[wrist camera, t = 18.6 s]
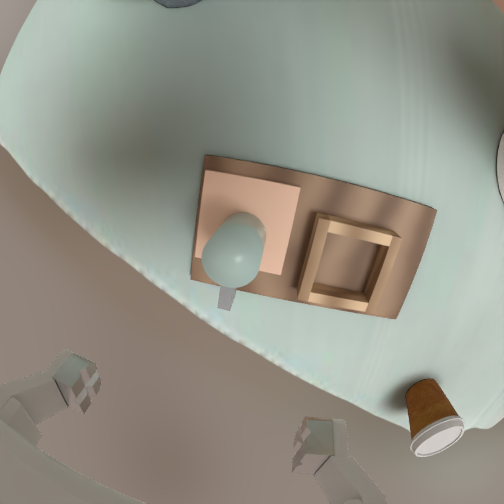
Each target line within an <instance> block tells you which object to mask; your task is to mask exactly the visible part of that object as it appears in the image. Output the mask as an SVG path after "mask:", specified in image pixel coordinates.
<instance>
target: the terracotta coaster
mask: <svg viewBox="0 0 504 504" xmlns="http://www.w3.org/2000/svg"><path fill="white" fill-rule="evenodd" d="M299 193H300V187H299V186H295V185H290V184H285V183H280V182H275V181H270V180H265V179H260V178H255V177H249V176H244V175H238V174H232V173H226V172H220V171H214V170H208V169H207V170H205V176H204V183H203V191H202V198H201V206H200V214H199V223H198V232H197V241H196V250H195V257H197V258H201V257H202V251H203V248H204V246H205V245H206V243H207V242H208V241H209V239H210V238H211V237H212V236H213V234H214V233H215V232H216V231H217V229H218V228H219V227H220V226H221V224H222V223H223V222H224V221H225V220H226V219H227V218H228V217H229V216H230V215H232V214H235V213H238V212H246V213H250V214H253V215H254V216H256V217H257V218H259V219H260V220H261V222H262V223H263V225H264V227H265V230H266V241H265V246H264V250H263V255H262V259H261V264H260V268H259V271H263V272H268V273H273V274H278V275H281V272H282V268H283V264H284V259H285V255H286V251H287V247H288V242H289V238H290V234H291V229H292V225H293V220H294V216H295V211H296V207H297V202H298V198H299Z"/></svg>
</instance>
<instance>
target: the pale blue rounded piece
mask: <svg viewBox="0 0 504 504" xmlns="http://www.w3.org/2000/svg"><path fill="white" fill-rule="evenodd" d="M265 241H266V230H265V227H264V225H263V223H262V222H261V220H260V219H259V218H257V217H256V216H254V215H253V214H250V213H246V212H238V213H235V214H232V215H230V216H229V217H228V218H227V219H226V220H225V221H224V222H223V223H222V224H221V226H220V227H219V228H218V229H217V231H216V232H215V233H214V234H213V236H212V237H211V238H210V239H209V241H208V242H207V243H206V245H205V246H204V248H203V251H202V257H201V259H202V266H203V268H204V271H205V272H206V274H207V275H208V277H209V278H210V279H211V280H212V281H214V282H215V283H217V284H219V285H221V288H220V295H219V301H218V308H220V309H224V310H228V311H230V309H231V306H232V303H233V300H234V297H235V294H236V289H237V288H238V287H242V286H245V285H247V284H248V283H250V282H251V281H252V280H253V279H254V278H255V277H256V275H257V273H258V271H259V268H260V264H261V259H262V255H263V250H264V246H265Z"/></svg>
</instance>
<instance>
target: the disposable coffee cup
mask: <svg viewBox="0 0 504 504" xmlns="http://www.w3.org/2000/svg"><path fill="white" fill-rule="evenodd" d="M406 403H407V409H408V416H409V423H410V431H411V438H412V441H411V446H410V449H411V451H413V452H414V453H415V455H416V456H418V457H426V456H430V455H433V454H437V453H439V452H441V451H443V450H445V449H447V448H448V447H450V446H451V445H453V444H454V443H455V442H456V441H457V440H458V439H459V438H460V437H461V436H462V434H463V432H464V424H465V423H464V420H463V419H462V418H461V417H460V416H458V414H457V413H456V411H455V409H454V408H453V406H452V405H451V403H450V402H449V400H448V399H447V397H446V395H445V394H444V392H443V391H442V389H441V388H440V386H439V385H438V383H437V382H436V381H435V380H434V379H425V380H422V381H420V382H418V383H416V384H415V385H413V386H412V387H411V388H410V389H409V390H408V392H407V393H406Z"/></svg>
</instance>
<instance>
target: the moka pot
mask: <svg viewBox="0 0 504 504" xmlns="http://www.w3.org/2000/svg"><path fill="white" fill-rule="evenodd" d="M155 1H156V2H158V3H160V4H162V5H163V6H165V7H170V8H171V7H186V6H189V5H191V4H195V3H197V2H199V1H201V0H155Z"/></svg>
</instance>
